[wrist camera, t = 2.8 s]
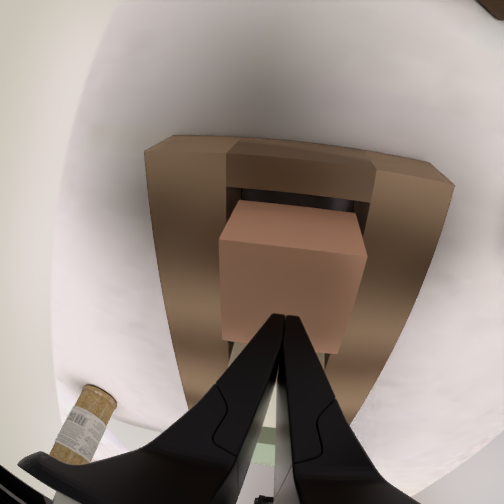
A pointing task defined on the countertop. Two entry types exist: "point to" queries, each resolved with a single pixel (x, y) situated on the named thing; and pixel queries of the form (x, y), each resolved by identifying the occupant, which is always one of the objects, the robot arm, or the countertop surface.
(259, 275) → the terracotta key
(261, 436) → the sage key
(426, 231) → the wooden tray
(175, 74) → the countertop surface
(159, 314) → the countertop surface
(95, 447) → the sprinkles bottle
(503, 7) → the beer bottle
